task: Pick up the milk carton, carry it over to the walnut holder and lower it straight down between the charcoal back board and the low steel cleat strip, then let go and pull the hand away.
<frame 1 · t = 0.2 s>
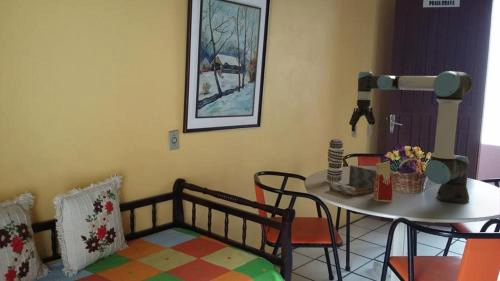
hand: (361, 136, 248), 28 cm above the table, tool pointing down, fingers open, 13 cm apart
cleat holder: (351, 191, 234), on the table
milk carton: (382, 199, 220), on the table
decorative candle: (334, 182, 255), on the table
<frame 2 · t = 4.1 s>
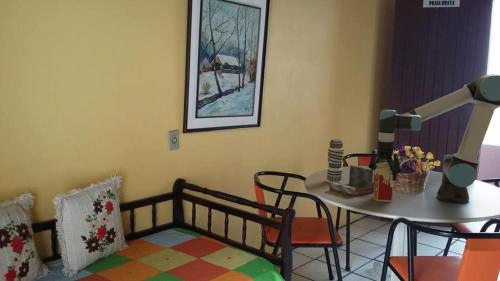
hand: (383, 184, 218), 8 cm above the table, tool pointing down, fingers open, 10 cm apart
milk carton: (382, 199, 220), on the table, touching gripper
everything else where it was.
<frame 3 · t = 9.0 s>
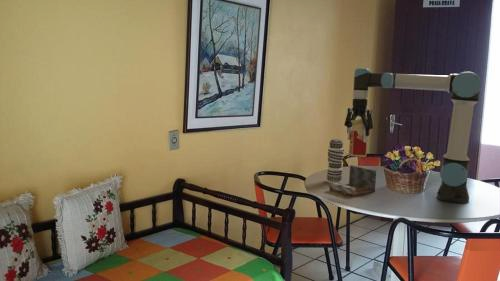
hand: (357, 140, 229), 28 cm above the table, tool pointing down, fingers closed on milk carton, 9 cm apart
milk carton: (356, 155, 230), point 20 cm above the table, touching gripper
everything else where it was.
when the fingers open (10 cm above the table, at t = 13.9 s): milk carton stays where it is, resting on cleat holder.
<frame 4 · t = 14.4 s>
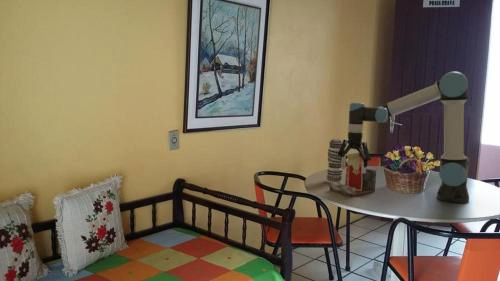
hand: (353, 170, 233), 11 cm above the table, tool pointing down, fingers open, 13 cm apart
milk carton: (352, 188, 234), point 1 cm above the table, touching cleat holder
everything else where it was.
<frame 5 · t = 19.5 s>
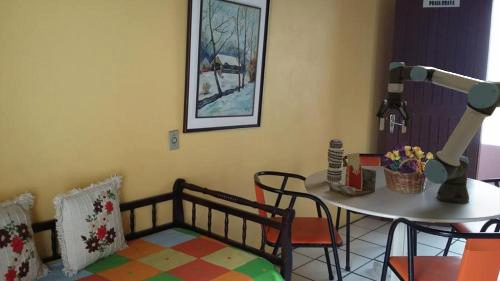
hand: (392, 131, 234), 33 cm above the table, tool pointing down, fingers open, 13 cm apart
nothing on the table moved.
at the end: milk carton inside the target area on the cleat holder (0.3 cm from its centre), point 1.3 cm above the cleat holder's base; milk carton tilted 0°; the gripper is holding nothing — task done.
